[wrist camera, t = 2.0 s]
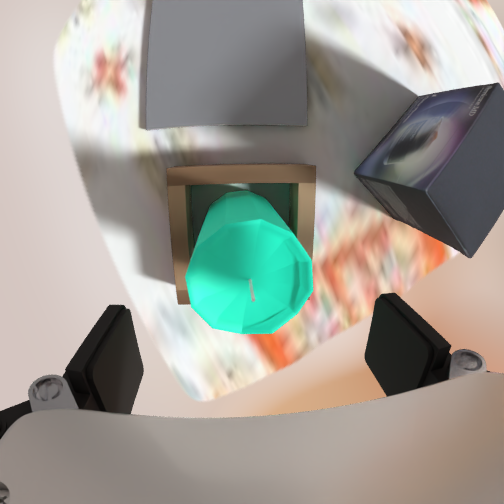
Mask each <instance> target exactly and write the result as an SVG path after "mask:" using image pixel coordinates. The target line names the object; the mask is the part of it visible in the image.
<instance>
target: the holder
mask: <svg viewBox="0 0 504 504" xmlns="http://www.w3.org/2000/svg"><path fill="white" fill-rule="evenodd" d="M232 183H290V208H289V228H290V230H291V231H292V232H293V234H294V235H295V236H296V238H297V239H298V241H299V242H300V244H301V245H302V246H303V248H304V249H305V251H306V252H307V254H308V255H309V257H310V258H311V259H312V256H313V239H314V218H315V192H316V166H313V165H308V164H213V165H191V166H174V167H171V168H167V190H168V206H169V221H170V233H171V245H172V256H173V265H174V275H175V284H176V292H177V300H178V304H191V303H190V298H189V294H188V289H187V284H186V279H185V275H186V272H187V269H188V266H189V263H190V260H191V257H192V254H193V251H194V239H193V223H192V204H191V185H202V184H232ZM309 297H310V296H309ZM307 300H309V298H308V299H307Z"/></svg>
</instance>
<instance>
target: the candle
mask: <svg viewBox="0 0 504 504" xmlns="http://www.w3.org/2000/svg"><path fill="white" fill-rule="evenodd" d="M185 279H186V284H187V289H188V294H189V298H190V303H191V307H192V308H193V309H194V310H195V311H196V312H197V313H198V314H199V315H200V316H201V317H202V318H203V319H204V320H205V321H206V322H207V323H208V324H209V325H210V326H211V327H212V328H214V329H219V330H224V331H229V332H234V333H239V334H272V333H274V332H275V331H276V330H278V329H279V328H280V327H281V326H283V325H284V324H285V323H287V322H288V321H289V320H290V319H292V318H293V317H294V316H295V315H297V313H298V312H299V311H300V309H301V308H302V306H303V305H304V304H305V302H306V301H307V299H308V298H309V296H310V295H311V293H312V292H313V275H312V259H311V258H310V257H309V255H308V254H307V252H306V251H305V249H304V248H303V246H302V245H301V244H300V242H299V241H298V239H297V238H296V236H295V235H294V234H293V232H292V231H291V230H290V228H289V227H288V226H287V225H286V223H285V222H284V221H283V220H282V218H281V217H280V216H279V214H278V213H277V212H276V211H275V209H274V208H273V207H272V206H271V204H270V203H269V202H268V201H267V199H266V198H264V197H262V196H260V195H257V194H255V193H253V192H250V191H248V190H243V191H235V192H227V193H225V194H224V195H223V196H221V197H220V198H219V199H217V200H216V201H215V202H214V203H212V204H211V205H210V207H209V210H208V212H207V215H206V217H205V220H204V222H203V225H202V228H201V231H200V233H199V236H198V239H197V242H196V245H195V248H194V251H193V254H192V257H191V260H190V263H189V266H188V269H187V272H186V275H185Z"/></svg>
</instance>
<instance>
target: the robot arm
mask: <svg viewBox="0 0 504 504" xmlns="http://www.w3.org/2000/svg"><path fill="white" fill-rule="evenodd" d="M450 348H451V345H450V344H449V343H448V342H447V341H446V340H445V339H444V338H443V337H442V336H441V335H440V334H439V333H438V332H437V331H436V330H435V329H434V328H432V326H431V325H429V324H428V323H427V322H426V321H425V320H424V319H423V318H422V317H421V316H420V315H418V313H417V312H415V311H414V310H413V309H412V308H411V307H410V306H409V305H408V304H407V303H405V301H403V300H402V299H401V298H400V297H399V296H398V295H397V294H396V293H387V294H381V295H380V296H379V298H377V299H376V301H375V306H374V312H373V317H372V322H371V327H370V332H369V337H368V342H367V346H366V351H365V361H366V363H367V365H368V366H369V368H370V370H371V371H372V373H373V374H374V376H375V378H376V379H377V381H378V382H379V384H380V386H381V387H382V389H383V390H384V392H385V394H386V395H387V397H383V398H379V399H374V400H370V401H365V402H360V403H355V404H350V405H345V406H340V407H334V408H327V409H321V410H314V411H306V412H298V413H290V414H279V415H268V416H253V417H233V418H232V417H231V418H179V417H157V416H144V415H132V414H131V411H132V407H133V404H134V401H135V398H136V395H137V392H138V389H139V385H140V383H141V379H142V376H143V372H144V370H143V363H142V359H141V356H140V352H139V347H138V343H137V339H136V335H135V330H134V326H133V321H132V316H131V312H130V310H129V309H126V307H125V306H124V305H109V306H108V307H107V309H106V310H105V311H104V313H103V314H102V316H101V317H100V318H99V320H98V321H97V323H96V324H95V325H94V327H93V328H92V330H91V331H90V333H89V334H88V336H87V337H86V338H85V340H84V342H83V343H82V345H81V346H80V347H79V349H78V350H77V352H76V353H75V355H74V357H73V358H72V359H71V361H70V363H69V364H68V366H67V367H66V369H65V370H66V372H65V373H64V375H63V377H61V376H58V375H46V376H43V377H40V378H38V379H37V380H36V381H34V382H33V383H32V385H31V386H30V388H29V390H28V396H29V400H28V401H25V402H23V403H21V404H18V405H15V406H12V407H10V408H7V409H5V410H2V411H0V504H504V374H503V373H496V372H490V371H487V370H486V362H485V360H484V358H483V357H482V356H481V355H479V354H478V353H476V352H474V351H471V350H466V349H462V350H457V351H455V352H454V353H453V354H452V355H451V354H450V353H449V351H450Z"/></svg>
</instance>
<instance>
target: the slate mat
mask: <svg viewBox="0 0 504 504" xmlns="http://www.w3.org/2000/svg"><path fill="white" fill-rule="evenodd" d="M216 125H288V126H307V75H306V48H305V29H304V13H303V0H153V3H152V12H151V22H150V33H149V47H148V64H147V91H146V130H157V129H167V128H180V127H195V126H216Z"/></svg>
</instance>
